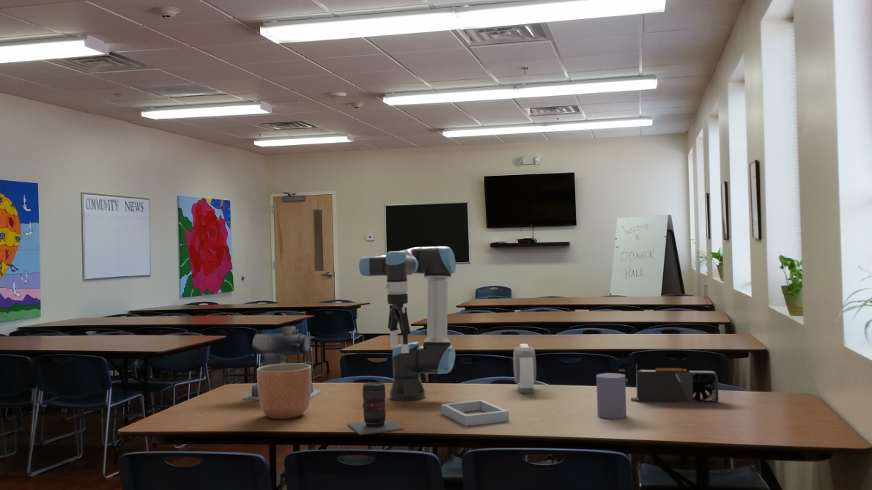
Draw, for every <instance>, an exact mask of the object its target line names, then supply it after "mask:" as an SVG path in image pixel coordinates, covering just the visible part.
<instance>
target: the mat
mask: <svg viewBox="0 0 872 490" xmlns="http://www.w3.org/2000/svg"><path fill="white" fill-rule="evenodd" d="M347 426H348V427H349V428H350V429H352V431H354V432H356V433H357V434H358V435H359V436H363V435H371V434H377V433H378V434H379V433H380V434H381V433H387V432H394V431H403V430H404V427H403V426H401V425H400V424H398V423H396V422H395V421H394V420H392V419H391V418H385V421H384V426H381V427H376V428H369V427H366V423H365V421H360V422H351V423H347Z"/></svg>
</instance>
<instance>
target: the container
mask: <svg viewBox="0 0 872 490" xmlns="http://www.w3.org/2000/svg"><path fill="white" fill-rule="evenodd" d="M626 396H627V394H626V375H625V374H623V373H617V372H616V373H615V372H604V373H598V374H596V404H597V416H598V418H601V417H602V418H601V419H605V418H608V419H607V420H619V418H621V419H623V418H626V417H627V397H626Z"/></svg>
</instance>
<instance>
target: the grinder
mask: <svg viewBox="0 0 872 490" xmlns="http://www.w3.org/2000/svg"><path fill="white" fill-rule="evenodd" d="M280 330H281V333H256V334H255V335H254V337H253V339H252V344H251V346H252V350H253V352H254V353H255V354H257V355H259V354H260V355H264V357H263V362H262V366H261V367H263V366H267V365H274V364H286V360H285V355H293V356H294V357H298V356H299V355H302V354H303V353H307V352H308V351H309V350H310V347H311V341H310V340H311V339H310V337H309V336H308V335H305V334H303V333H299V332H300V331H299V328H297V329H296V326H289V325H288V326H284V327H282V328H281V329H280ZM313 386H314V385H313V381H312V380H311V396H310V400H311V399H313V398H315V397H316V396H318V395H320V394H321V393H323V389H314V387H313ZM241 400H242V401H243V400H245V401H247V400H248V401H249V400H250V401H251V400H252V401H253V400H254V401H255V400H257V401H259V395H258V384H257V383H255V384H254V385H252V386H251V393H249V394H247V395H244V396H243V397H242V398H241Z"/></svg>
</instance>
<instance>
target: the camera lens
mask: <svg viewBox="0 0 872 490" xmlns="http://www.w3.org/2000/svg"><path fill="white" fill-rule="evenodd" d="M362 401H363V403H362V408H363V422H365V423H366V427H369V428H376V427H381V426H384V421H385V419H386V416H387V415H386V414H387V413H386V412H387V411H386V385H385V383H384V382H378V381H377V382H376V381H375V382H366V383H363V385H362Z"/></svg>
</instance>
